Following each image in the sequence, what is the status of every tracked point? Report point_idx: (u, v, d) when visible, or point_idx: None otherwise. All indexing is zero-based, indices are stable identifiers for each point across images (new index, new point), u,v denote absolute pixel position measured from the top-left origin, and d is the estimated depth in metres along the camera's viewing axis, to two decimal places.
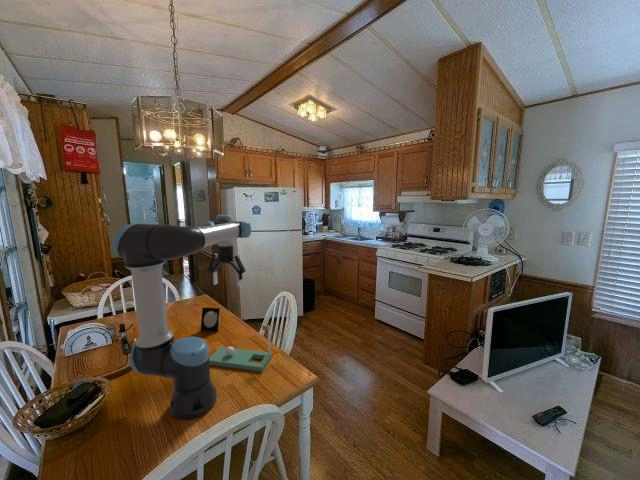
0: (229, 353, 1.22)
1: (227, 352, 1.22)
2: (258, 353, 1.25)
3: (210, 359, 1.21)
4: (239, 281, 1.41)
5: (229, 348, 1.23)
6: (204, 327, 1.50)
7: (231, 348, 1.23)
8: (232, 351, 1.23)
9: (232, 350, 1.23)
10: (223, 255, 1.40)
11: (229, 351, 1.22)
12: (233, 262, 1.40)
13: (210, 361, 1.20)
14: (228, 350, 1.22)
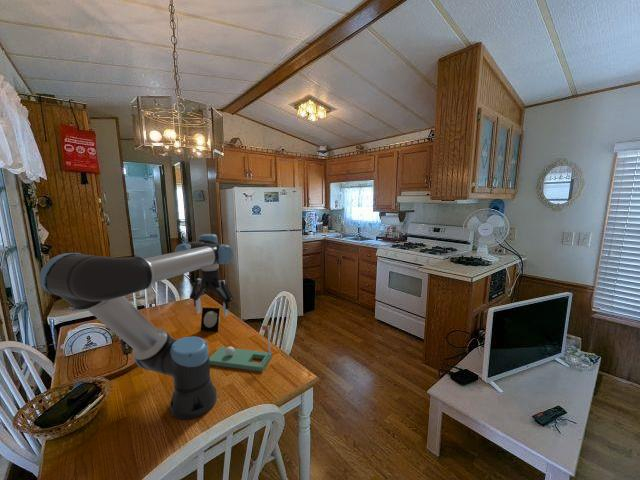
0: (229, 353, 1.22)
1: (227, 352, 1.22)
2: (258, 353, 1.25)
3: (210, 359, 1.21)
4: (226, 311, 1.22)
5: (229, 348, 1.23)
6: (204, 327, 1.50)
7: (231, 348, 1.23)
8: (232, 351, 1.23)
9: (232, 350, 1.23)
10: (207, 281, 1.20)
11: (229, 351, 1.22)
12: (219, 289, 1.21)
13: (210, 361, 1.20)
14: (228, 350, 1.22)
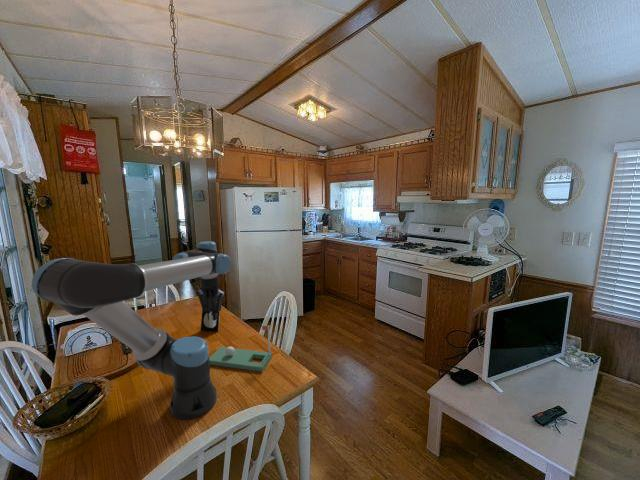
0: (229, 353, 1.22)
1: (227, 352, 1.22)
2: (258, 353, 1.25)
3: (210, 359, 1.21)
4: (213, 321, 1.23)
5: (229, 348, 1.23)
6: (204, 327, 1.50)
7: (231, 348, 1.23)
8: (232, 351, 1.23)
9: (232, 350, 1.23)
10: None
11: (229, 351, 1.22)
12: (214, 298, 1.21)
13: (210, 361, 1.20)
14: (228, 350, 1.22)
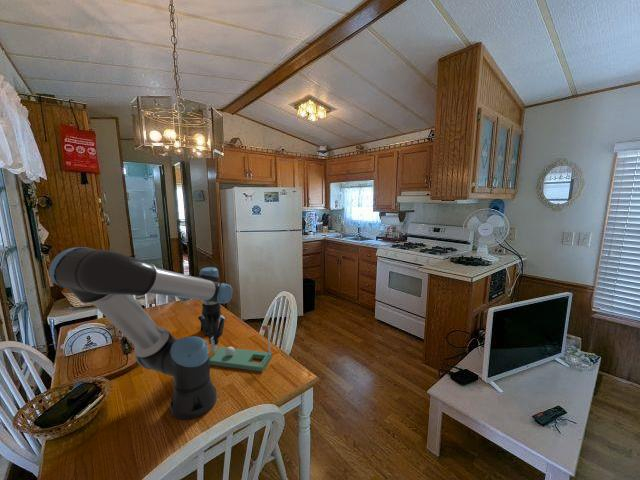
0: (229, 353, 1.22)
1: (227, 352, 1.22)
2: (258, 353, 1.25)
3: (210, 359, 1.21)
4: (215, 346, 1.25)
5: (229, 348, 1.23)
6: None
7: (231, 348, 1.23)
8: (232, 351, 1.23)
9: (232, 350, 1.23)
10: None
11: (229, 351, 1.22)
12: (216, 323, 1.23)
13: (210, 361, 1.20)
14: (228, 350, 1.22)
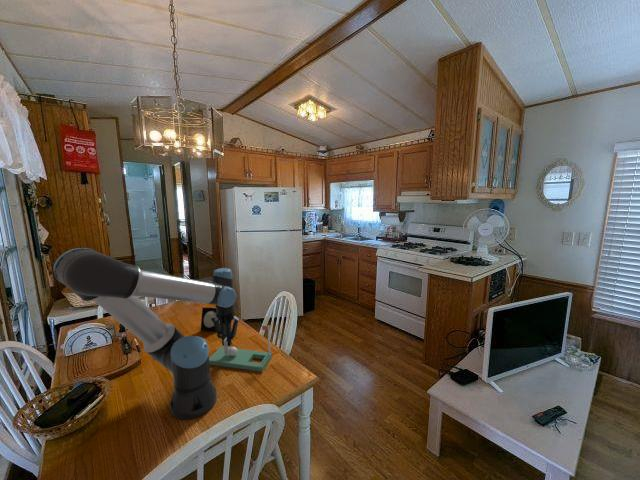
0: (232, 354, 1.22)
1: (231, 352, 1.22)
2: (258, 353, 1.25)
3: (210, 359, 1.21)
4: (228, 347, 1.23)
5: (234, 349, 1.23)
6: (204, 327, 1.50)
7: (235, 350, 1.23)
8: (235, 353, 1.23)
9: (236, 352, 1.23)
10: None
11: (233, 352, 1.22)
12: (229, 325, 1.22)
13: (210, 361, 1.20)
14: (232, 351, 1.22)
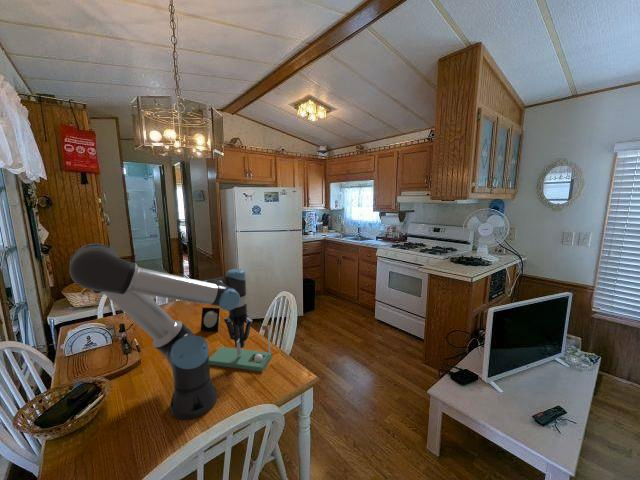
0: (258, 361, 1.20)
1: (256, 359, 1.20)
2: (258, 353, 1.25)
3: (210, 359, 1.21)
4: (241, 349, 1.22)
5: (259, 356, 1.21)
6: (204, 327, 1.50)
7: (261, 357, 1.21)
8: (261, 360, 1.20)
9: (261, 359, 1.21)
10: None
11: (258, 359, 1.20)
12: (242, 326, 1.20)
13: (210, 361, 1.20)
14: (258, 358, 1.20)
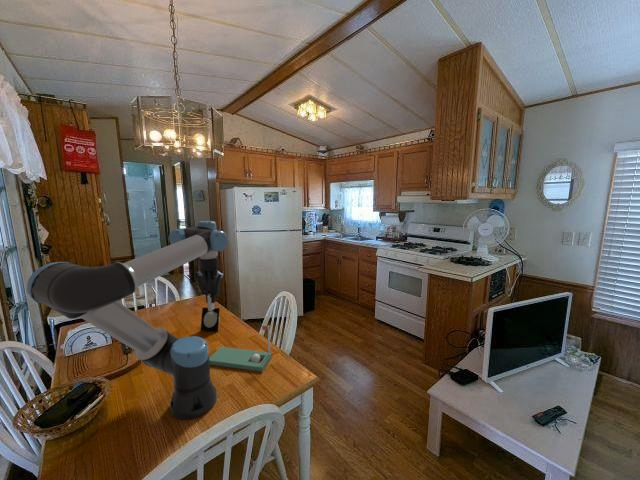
0: (255, 360, 1.20)
1: (253, 360, 1.20)
2: (258, 353, 1.25)
3: (210, 359, 1.21)
4: (212, 304, 1.19)
5: (254, 355, 1.21)
6: (204, 327, 1.50)
7: (256, 355, 1.21)
8: (257, 358, 1.20)
9: (257, 357, 1.21)
10: None
11: (254, 358, 1.20)
12: (213, 280, 1.17)
13: (210, 361, 1.20)
14: (253, 357, 1.20)
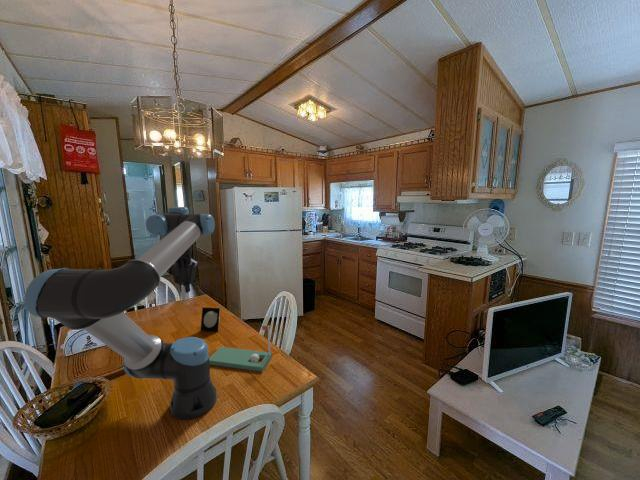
0: (253, 360, 1.20)
1: (251, 360, 1.20)
2: (258, 353, 1.25)
3: (210, 359, 1.21)
4: (186, 294, 1.15)
5: (252, 355, 1.21)
6: (204, 327, 1.50)
7: (254, 355, 1.21)
8: (256, 357, 1.20)
9: (255, 356, 1.21)
10: None
11: (253, 358, 1.20)
12: (187, 269, 1.13)
13: (210, 361, 1.20)
14: (252, 358, 1.20)
